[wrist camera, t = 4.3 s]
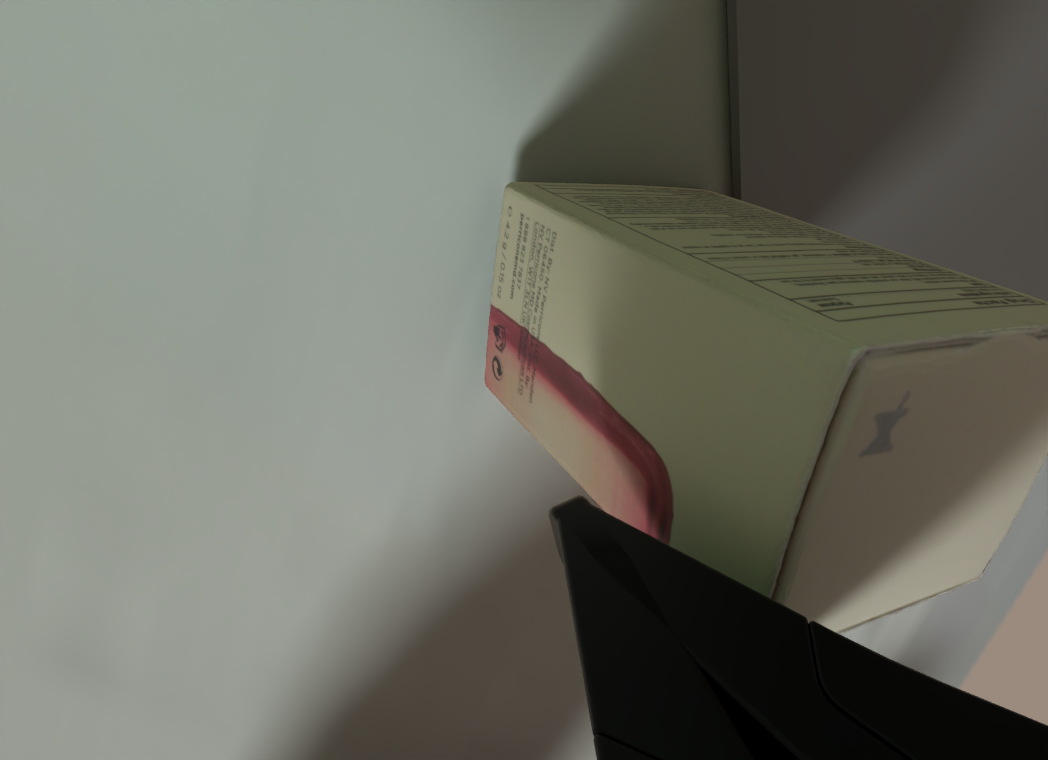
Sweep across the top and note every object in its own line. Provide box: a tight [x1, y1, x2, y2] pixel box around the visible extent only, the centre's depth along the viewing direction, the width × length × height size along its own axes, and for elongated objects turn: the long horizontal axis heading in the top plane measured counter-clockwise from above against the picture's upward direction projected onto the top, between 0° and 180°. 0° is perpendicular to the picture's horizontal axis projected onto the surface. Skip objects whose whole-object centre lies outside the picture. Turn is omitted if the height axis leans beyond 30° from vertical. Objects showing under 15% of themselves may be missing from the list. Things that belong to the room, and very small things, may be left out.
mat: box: [727, 0, 1048, 301], centre depth 16 cm, size 12×12×1 cm
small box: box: [485, 182, 1048, 634], centre depth 11 cm, size 5×4×8 cm
